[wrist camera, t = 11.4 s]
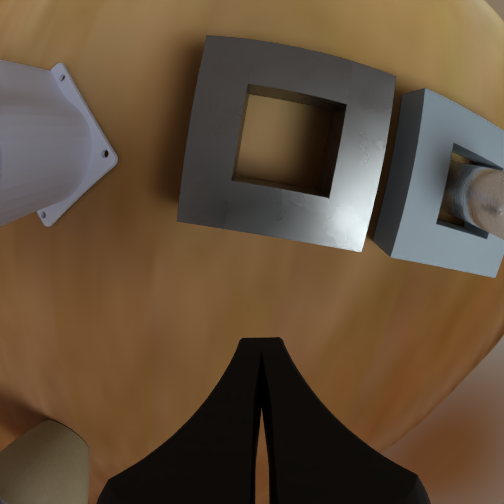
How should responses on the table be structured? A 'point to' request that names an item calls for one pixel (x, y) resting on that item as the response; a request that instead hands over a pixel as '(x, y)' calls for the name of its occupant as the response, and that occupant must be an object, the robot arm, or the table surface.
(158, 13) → the table surface
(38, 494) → the plant pot
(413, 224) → the block
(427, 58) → the table surface
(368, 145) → the charcoal stand
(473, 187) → the aluminium peg
